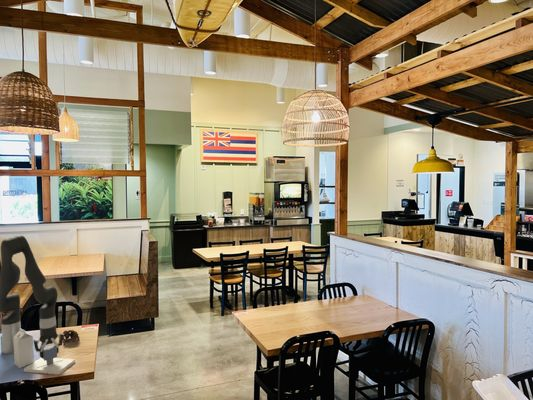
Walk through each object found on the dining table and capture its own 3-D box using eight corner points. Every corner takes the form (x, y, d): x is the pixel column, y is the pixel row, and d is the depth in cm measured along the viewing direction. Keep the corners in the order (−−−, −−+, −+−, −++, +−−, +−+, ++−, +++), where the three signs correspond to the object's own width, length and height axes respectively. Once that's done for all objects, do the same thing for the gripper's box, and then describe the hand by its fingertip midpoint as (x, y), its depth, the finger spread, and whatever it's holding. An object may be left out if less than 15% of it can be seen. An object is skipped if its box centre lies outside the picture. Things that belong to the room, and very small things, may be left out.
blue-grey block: (44, 360, 199) (43, 351, 198) (41, 356, 203) (41, 347, 203) (57, 357, 203) (56, 347, 202) (54, 353, 207) (54, 343, 207)
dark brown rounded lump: (84, 340, 237) (80, 331, 232) (71, 352, 230) (67, 343, 225) (71, 332, 241) (67, 323, 237) (57, 343, 235) (53, 335, 230)
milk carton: (29, 359, 212) (27, 325, 211) (34, 363, 207) (32, 329, 206) (14, 364, 206) (12, 329, 205) (19, 368, 202) (17, 333, 201)
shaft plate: (24, 371, 199) (23, 362, 198) (42, 359, 211) (41, 351, 211) (58, 374, 196) (58, 365, 195) (75, 362, 208) (74, 353, 208)
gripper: (33, 331, 194) (35, 362, 195) (64, 323, 204) (66, 354, 205) (30, 326, 200) (32, 357, 201) (61, 319, 209) (62, 349, 210)
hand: (49, 355), depth 203 cm, fingers closed on blue-grey block, 6 cm apart
